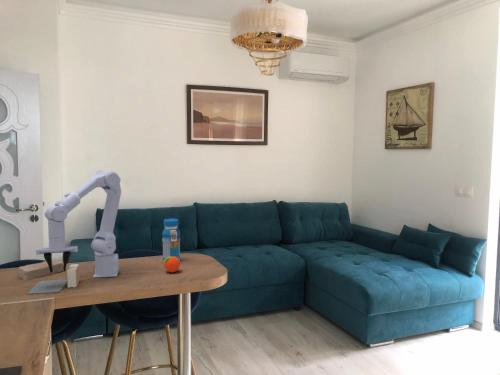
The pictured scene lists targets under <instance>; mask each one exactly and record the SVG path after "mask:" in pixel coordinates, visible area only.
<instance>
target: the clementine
mask: <svg viewBox="0 0 500 375" xmlns="http://www.w3.org/2000/svg"><path fill="white" fill-rule="evenodd" d="M164 261H165V262H164ZM164 261H163V263H162V264H163V266H164V269H165V271H166V272H168V273H175V272H177V271H178V270H179V269H180V267H181V261H180V260H179V259H178V258H177V257H175V256H170V257H167V258H166V259H165V260H164Z"/></svg>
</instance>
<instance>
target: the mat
mask: <svg viewBox="0 0 500 375" xmlns="http://www.w3.org/2000/svg"><path fill="white" fill-rule="evenodd" d="M67 284H68V279H52V280H51V279H49V280H47V279H46V280H39V281H38V282H37V283H36V284H35V285H34V286H33V287H31V289H30V290H29V291H28V292H27V295H38V294H40V295H42V294H59V293H60V292H61V291H62V290H63V289H64V288H65V286H66V285H67Z"/></svg>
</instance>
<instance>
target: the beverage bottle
mask: <svg viewBox="0 0 500 375" xmlns="http://www.w3.org/2000/svg"><path fill="white" fill-rule="evenodd" d="M163 227H164V229H163V231H162V234H161V235H162V239H161V242H162V261H163V262H165V261H164V260H165V259H166V258H167V257H170V256H175V257H177V258H178V259H179V261H180V260H181V254H180V253H181V248H180V246H181V245H180V242H181V237H180V235H181V233H180V229H179V219H178V218H164V219H163Z"/></svg>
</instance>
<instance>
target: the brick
mask: <svg viewBox="0 0 500 375" xmlns="http://www.w3.org/2000/svg"><path fill="white" fill-rule="evenodd" d="M52 268H53V271H52V273H50V269H49V266H48V264H47V262H46V260H45V261H42V262H38V263H32V264H26V265H23V266H19V267H18V268H17V273H16V274H17V278H20V279H21V280H24V281H28V280H33V279H37V278H43V277H47V276H50V275H55V274H59V273H61V272H64V270H63V269H64V261H62V260H58V259H52Z"/></svg>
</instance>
